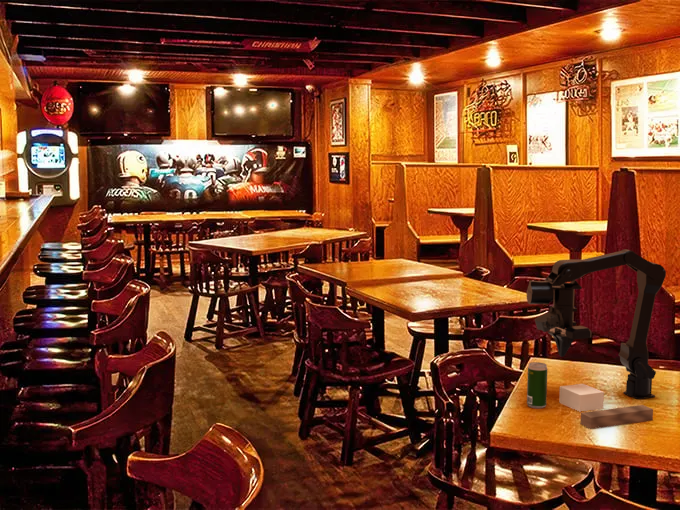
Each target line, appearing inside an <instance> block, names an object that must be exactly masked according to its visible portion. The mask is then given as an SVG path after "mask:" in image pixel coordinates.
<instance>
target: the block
mask: <svg viewBox="0 0 680 510" xmlns="http://www.w3.org/2000/svg"><path fill="white" fill-rule="evenodd" d="M604 395H605V392H604V391H602V390H600V389H597V388H595V387H593V386H590V385H587V384H585V383H579V384H578V383H577V384H568V385H560V386H559V404H561V405H563V406H565V407H568V408H571V409H572V410H574V409H575V410H574V411H576V410H577V412H578V411H579V413H582V412H581V411H584V412H589V411H588V410H591V411H597V410H596V409H598V410H602V409H603V410H604V397H605V396H604Z"/></svg>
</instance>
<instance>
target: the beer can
mask: <svg viewBox="0 0 680 510" xmlns="http://www.w3.org/2000/svg"><path fill="white" fill-rule="evenodd" d="M547 391H548V365H547V363H544V362H539V361H533V362H529V363H528V366H527V382H526V404H527V407H529V408H533V409H538V410H539V409H540V410H541V409H544V408H546V406H547V395H548V394H547V393H548V392H547Z"/></svg>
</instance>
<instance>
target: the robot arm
mask: <svg viewBox="0 0 680 510" xmlns="http://www.w3.org/2000/svg"><path fill="white" fill-rule="evenodd" d="M621 266H628V267H629V268H630V269H631V270H633V271H634V272H636V283H637V288H638V294H637V299H636V304H635V308H634V309H635V310H634V314H633V318H632V319H633V320H632V324H631V331H630V336H629V338H628V340H627V341H626V342H621V343H620V351H619V353H618V356H619V360H620V361H619V362H621V365H622V366H624V367H625V370H626V372H629V374H627V379H626V382H625V383H626V387H625V389H626V390H623V392H622V393H623V394H625V395H626V396H629V397H632V398H634V399H636V400H643V399H649V398H650V399H651V398H655V397H656V394H653V393H652V387H653V379H654V378H655V376H656V375H657V371H656V370H654V368H653V367H652V366H650V364H649V350H648V344H647V340H648V336H649V330H650V326H651V325H650V324H651V321H652V316H653V311H654V310H653V309H654V306H655V301H656V300H655V299H656V296H657V294H658V293H659V291H660V290H661V288H662V286H663V284H664V282H665V279H666V276H667V271H666V269H665V268H664V265H663V266H662V265H661V264H659V263H656V262H653V261H649V260H647V259H645V258H643V257H642V256H640V255H639V254H637V253H636V252H635V251H633V250H630V249H622V250H619V251H614V252H611V253H607V254H606V253H605V254H601V255H597V256H593V257H588V258H584V259H560V260H557V261H555V262H554V264H553V266H552V270H551V271H550V273H549V274H548V275H547V277H546V278H545V279H544V280H541V281H540V280H529V282H528V286H527V290H526V301H527V304H529V305H550V304H551V303H552V302H553V304H552V306H550V307H549V311H548V312H547V313H544V314H541V315H540V316H538V317H536V318H535V319H534V322H535V325H536V330H537V331H542V332H544V333H546V332H547V333H548V334H549V335H550V336H551V337H552V338H553V339H554V341H555V342H554V343H555V345H556V349H557V351H558V352H557V353H558V355H559V357H561V358H563V357H566V355H567V352H568V350H569V349H570V347H571V346H572V344H573V342H574V341H575V340H581V339H583V340H584V339H591V338H592V330H591V329H590V328H589V327H586V326H584V325H577V321H574V313H575V312H576V313H577V312H578V308H577V307H575V290H581V289H582V288H583V287H582V286H581V285H580V284H579V283H578V281H577V280H578V279H581V278H582V277H584V276H585V275H587V274H590V273H594V272H598V271H603V270H609V269H613V268H616V267H621Z"/></svg>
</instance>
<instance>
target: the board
mask: <svg viewBox="0 0 680 510" xmlns="http://www.w3.org/2000/svg"><path fill="white" fill-rule="evenodd" d="M653 418H654V408H652V407H649V406H647V405H644V404H640V405H633V406H632V405H631V406H622V407H615V408H608V409H603V410H602V409H599V410H591V411H584V412H580V425H581V424H582V425H581V426H583V425H584V426H583V427H585V426H586V428H587V427H588V428H587V429H589V428H590V429H589V430H592V429H591V428H593V429H599V427H601V428H606V427H607V426H608V427H613V426H614V425H615V426H621V425H628V424H634V423H635V424H636V423H643V422H649V421H653Z"/></svg>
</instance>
